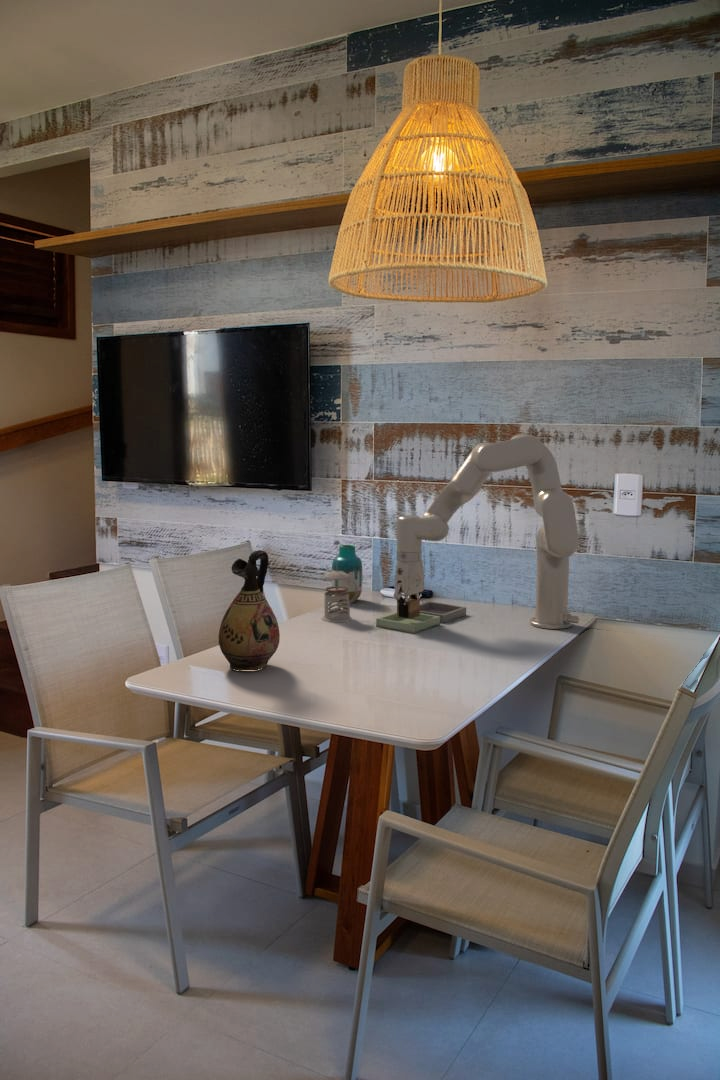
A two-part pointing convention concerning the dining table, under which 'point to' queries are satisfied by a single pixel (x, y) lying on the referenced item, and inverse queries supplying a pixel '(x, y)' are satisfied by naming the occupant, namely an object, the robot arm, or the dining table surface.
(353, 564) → the vase
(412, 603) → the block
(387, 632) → the dining table surface
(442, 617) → the brown square tray
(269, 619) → the ceramic jug
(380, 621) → the tray
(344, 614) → the french press
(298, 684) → the dining table surface
